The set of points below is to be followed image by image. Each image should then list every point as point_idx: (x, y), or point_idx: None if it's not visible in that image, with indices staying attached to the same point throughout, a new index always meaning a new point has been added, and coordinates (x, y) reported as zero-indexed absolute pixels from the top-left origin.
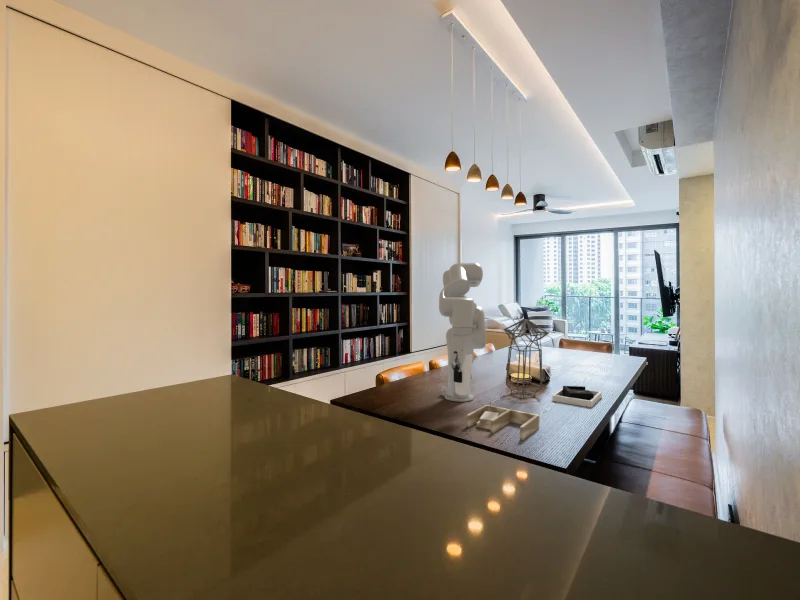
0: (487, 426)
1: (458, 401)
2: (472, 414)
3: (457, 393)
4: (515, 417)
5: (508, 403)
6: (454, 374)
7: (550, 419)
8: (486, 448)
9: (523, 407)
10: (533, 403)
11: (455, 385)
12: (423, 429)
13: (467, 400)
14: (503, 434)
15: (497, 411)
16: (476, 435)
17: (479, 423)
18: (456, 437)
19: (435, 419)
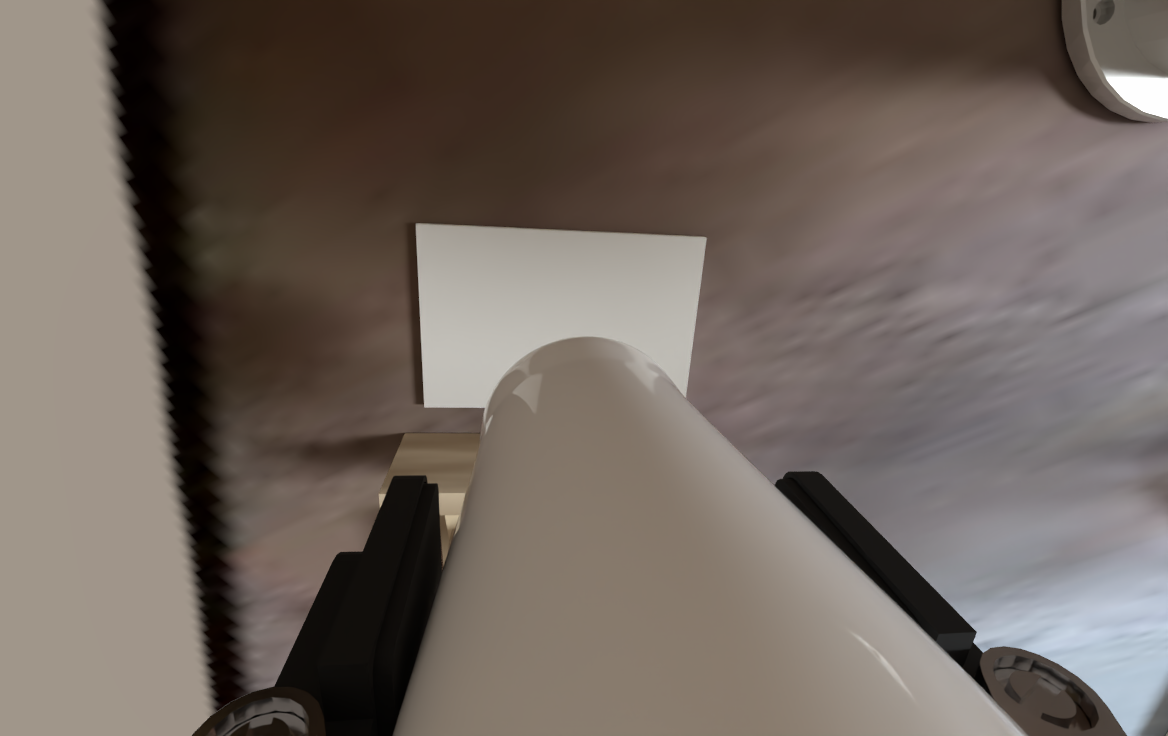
0: None
1: (1063, 21)
2: (443, 511)
3: (486, 406)
4: None
5: (1124, 420)
6: (357, 599)
7: None
8: (204, 651)
9: (1051, 530)
10: (1161, 545)
11: (506, 408)
12: (127, 146)
13: (1105, 103)
14: None
15: None
16: (345, 530)
17: (448, 530)
18: (207, 452)
19: (437, 96)
